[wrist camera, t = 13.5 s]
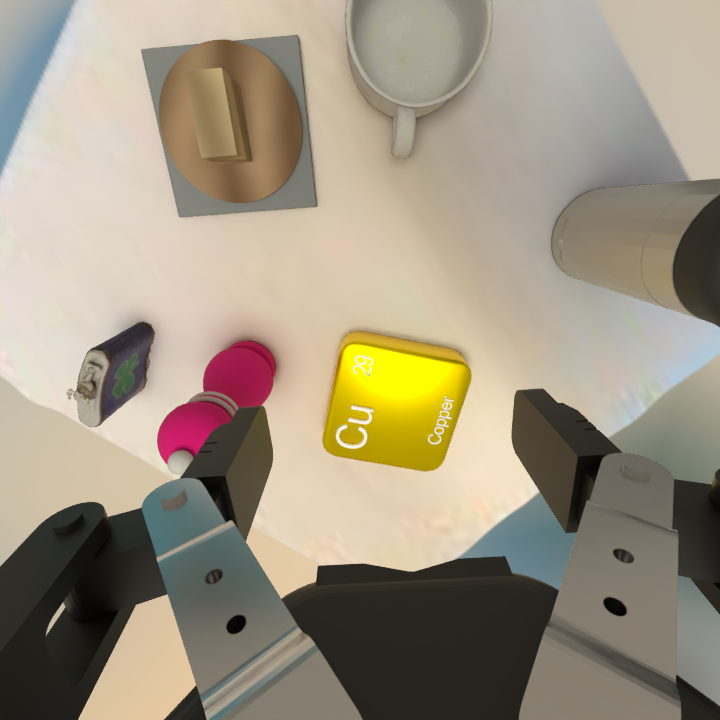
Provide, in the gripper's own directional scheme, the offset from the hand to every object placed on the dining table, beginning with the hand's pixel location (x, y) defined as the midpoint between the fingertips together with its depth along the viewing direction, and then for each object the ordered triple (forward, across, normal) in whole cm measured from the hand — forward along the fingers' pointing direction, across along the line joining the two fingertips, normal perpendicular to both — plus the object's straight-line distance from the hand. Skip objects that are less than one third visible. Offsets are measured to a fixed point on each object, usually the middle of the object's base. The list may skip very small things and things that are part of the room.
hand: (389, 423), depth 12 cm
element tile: (+33, -2, +15) cm, 36 cm away
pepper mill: (+32, +15, +10) cm, 37 cm away
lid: (+31, +12, -14) cm, 36 cm away
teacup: (+32, -4, -17) cm, 37 cm away
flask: (+32, +28, +8) cm, 43 cm away
